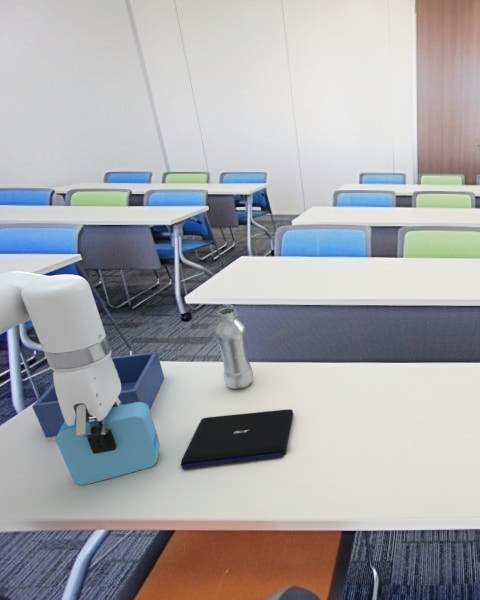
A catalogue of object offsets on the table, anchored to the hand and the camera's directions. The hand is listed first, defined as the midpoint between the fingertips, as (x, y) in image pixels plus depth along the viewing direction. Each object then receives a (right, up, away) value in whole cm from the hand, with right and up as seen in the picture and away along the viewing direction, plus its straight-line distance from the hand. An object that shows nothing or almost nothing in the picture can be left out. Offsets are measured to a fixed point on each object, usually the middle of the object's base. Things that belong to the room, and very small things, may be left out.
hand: (111, 438), depth 71 cm
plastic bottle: (+8, +4, +28) cm, 29 cm away
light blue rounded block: (0, -6, +3) cm, 7 cm away
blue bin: (-16, +1, +19) cm, 24 cm away
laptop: (+18, -4, +11) cm, 21 cm away
